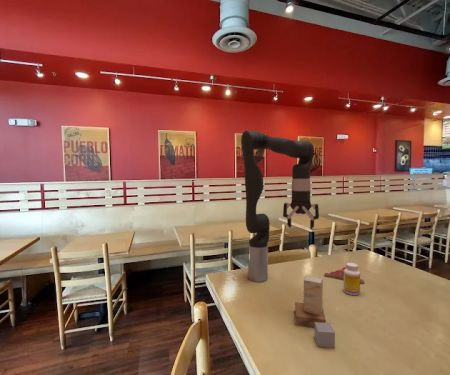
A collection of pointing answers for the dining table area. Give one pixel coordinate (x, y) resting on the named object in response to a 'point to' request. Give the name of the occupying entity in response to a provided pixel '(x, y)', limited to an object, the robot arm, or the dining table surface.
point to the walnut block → (307, 316)
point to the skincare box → (313, 295)
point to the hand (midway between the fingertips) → (300, 228)
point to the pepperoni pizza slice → (339, 275)
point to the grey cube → (324, 334)
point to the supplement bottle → (351, 279)
